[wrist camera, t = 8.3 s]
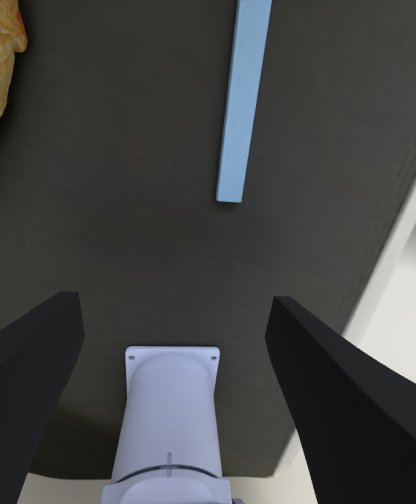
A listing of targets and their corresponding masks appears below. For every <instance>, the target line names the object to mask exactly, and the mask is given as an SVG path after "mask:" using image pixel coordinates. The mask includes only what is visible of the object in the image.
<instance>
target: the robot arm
mask: <svg viewBox="0 0 416 504" xmlns="http://www.w3.org/2000/svg"><path fill="white" fill-rule="evenodd" d="M84 337H85V334H84V327H83V320H82V313H81V307H80V300H79V293H78V292H61V291H60V292H59V293H57V294H55V295H54V296H52V297H50V298H49V299H47V300H46V301H44V302H43V303H41V304H40V305H38V306H37V307H35V308H34V309H32V310H31V311H29V312H28V313H26V314H25V315H23V316H22V317H20V318H19V319H17V320H16V321H14V322H13V323H11V324H10V325H8V326H7V327H5V328H4V329H2V330H0V504H17V501H18V498H19V496H20V493H21V490H22V487H23V484H24V481H25V479H26V476H27V473H28V471H29V468H30V465H31V463H32V460H33V457H34V454H35V452H36V449H37V446H38V444H39V442H40V439H41V437H42V435H43V432H44V430H45V428H46V426H47V424H48V422H49V419H50V417H51V415H52V413H53V411H54V409H55V407H56V405H57V403H58V401H59V399H60V396H61V394H62V392H63V390H64V388H65V386H66V384H67V382H68V380H69V377H70V375H71V373H72V371H73V369H74V367H75V364H76V362H77V359H78V356H79V353H80V350H81V347H82V344H83V341H84ZM265 340H266V345H267V349H268V353H269V357H270V361H271V364H272V366H273V369H274V372H275V374H276V377H277V379H278V382H279V385H280V387H281V390H282V392H283V395H284V397H285V400H286V402H287V405H288V408H289V410H290V413H291V415H292V418H293V420H294V423H295V426H296V429H297V432H298V435H299V438H300V441H301V445H302V448H303V452H304V455H305V459H306V462H307V465H308V469H309V473H310V476H311V480H312V484H313V488H314V491H315V495H316V499H317V502H318V504H416V384H415V383H414V382H412V381H410V380H408V379H407V378H405V377H403V376H401V375H400V374H398V373H396V372H394V371H393V370H391V369H390V368H388V367H386V366H385V365H383V364H382V363H380V362H378V361H377V360H375V359H374V358H372V357H370V356H369V355H367V354H366V353H364V352H363V351H361V350H360V349H359V348H357V347H356V346H354V345H353V344H351V343H350V342H349V341H347V340H346V339H344V338H343V337H342V336H340V335H339V334H338V333H336V332H335V331H334V330H332V329H331V328H330V327H328V326H327V325H326V324H324V323H323V322H322V321H321V320H319V319H318V318H317V317H316V316H314V315H313V314H312V313H310V312H309V311H308V310H307V309H305V308H304V307H303V306H302V305H300V304H299V303H298V302H296V301H295V300H294V299H292V298H291V297H286V296H274V299H273V303H272V308H271V312H270V316H269V321H268V325H267V329H266V334H265ZM219 355H220V352H219V349H218V348H217V347H154V346H130V347H128V348H127V349H126V352H125V358H126V379H127V404H126V409H125V414H124V419H123V424H122V429H121V434H120V438H119V443H118V448H117V453H116V458H115V463H114V468H113V473H112V478H111V483H110V484H107V485H104V486H103V490H102V495H101V499H100V504H244V502H243V501H242V500H241V499H237V498H236V499H231V491H230V483H229V479H222V470H221V461H220V452H219V443H218V434H217V425H216V416H215V407H214V398H213V394H214V387H215V381H216V374H217V368H218V362H219ZM131 356H133V357H131ZM213 356H215V357H213Z"/></svg>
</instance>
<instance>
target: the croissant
mask: <svg viewBox="0 0 416 504" xmlns="http://www.w3.org/2000/svg"><path fill="white" fill-rule="evenodd" d="M27 42H28V40H27V36H26V33H25V29H24V25H23V22H22V18H21V15H20V11H19V8H18V0H0V117H1V115H2V114H3V112H4V109H5V107H6V104H7V95H8V88H9V85H10V82H11V77H12V72H13V66H14V61H15V57H14V52H23V51H24V50H25V49H26V46H27Z"/></svg>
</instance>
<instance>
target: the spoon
mask: <svg viewBox="0 0 416 504" xmlns="http://www.w3.org/2000/svg"><path fill="white" fill-rule="evenodd" d="M271 3H272V0H237V8H236V17H235V26H234V35H233V45H232V54H231V63H230V72H229V81H228V90H227V99H226V108H225V117H224V126H223V135H222V144H221V153H220V162H219V171H218V181H217V190H216V199H217V201H225V202H239V203H240V202H241V199H242V193H243V186H244V180H245V173H246V167H247V160H248V154H249V147H250V141H251V134H252V127H253V121H254V114H255V108H256V101H257V95H258V88H259V82H260V75H261V69H262V62H263V55H264V49H265V42H266V36H267V29H268V23H269V16H270V10H271Z"/></svg>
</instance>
